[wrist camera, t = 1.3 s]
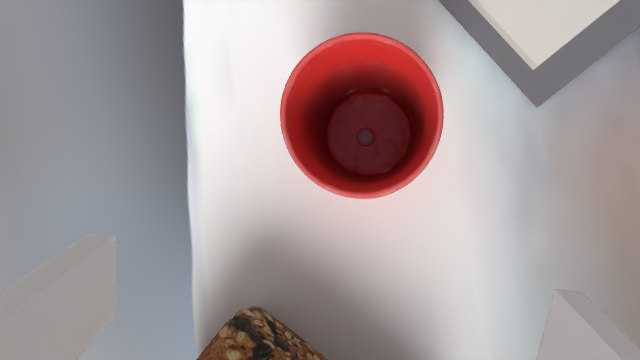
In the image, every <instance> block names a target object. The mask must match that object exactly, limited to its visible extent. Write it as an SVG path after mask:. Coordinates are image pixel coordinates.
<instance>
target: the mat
mask: <svg viewBox="0 0 640 360" xmlns="http://www.w3.org/2000/svg"><path fill="white" fill-rule="evenodd" d="M439 1H440V2H441V3H442V4H443V5H444V6H445V7H446V8H447V9H448V11H449V12H450V13H451V14H452V15H453V16H454V17H455V18H456V19H457V20H458V22H459V23H460V24H461V25H462V26H463V27H464V28H465V29H466V30H467V31H468V32H469V34H470V35H471V36H472V37H473V38H474V39H475V40H476V41H477V42H478V43H479V45H480V46H481V47H482V48H483V49H484V50H485V51H486V52H487V53H488V54H489V55H490V57H491V58H492V59H493V60H494V61H495V62H496V63H497V64H498V65H499V66H500V68H501V69H502V70H503V71H504V72H505V73H506V74H507V75H508V76H509V77H510V78H511V80H512V81H513V82H514V83H515V84H516V85H517V86H518V87H519V88H520V89H521V91H522V92H523V93H524V94H525V95H526V96H527V97H528V98H529V99H530V100H531V101H532V103H533V104H534V105H535V106H536V107H538V106H540V105H541V104H542V103H544V102H545V101H546V100H547V99H549V98H550V97H551V96H552V95H554V94H555V93H556V92H557V91H559V90H560V89H561V88H562V87H564V86H565V85H566V84H567V83H569V82H570V81H571V80H573V79H574V78H575V77H576V76H578V75H579V74H580V73H581V72H583V71H584V70H585V69H586V68H588V67H589V66H590V65H591V64H593V63H594V62H595V61H596V60H598V59H599V58H600V57H601V56H603V55H604V54H605V53H606V52H608V51H609V50H610V49H612V48H613V47H614V46H615V45H617V44H618V43H619V42H620V41H622V40H623V39H624V38H625V37H627V36H628V35H629V34H630V33H632V32H633V31H634V30H635V29H637V28H638V27H639V26H640V0H620V1H619V2H618V3H616V4H615V5H614V6H613V7H611V8H610V9H609V10H608V11H606V12H605V13H604V14H603V15H602V16H600V17H599V18H598V19H597V20H595V21H594V22H593V23H592V24H590V25H589V26H588V27H587V28H585V29H584V30H583V31H582V32H580V33H579V34H578V35H577V36H575V37H574V38H573V39H572V40H570V41H569V42H568V43H567V44H565V45H564V46H563V47H562V48H560V49H559V50H558V51H557V52H556V53H554V54H553V55H552V56H551V57H549V58H548V59H547V60H546V61H544V62H543V63H542V64H541V65H539V66H538V67H537V68H536V69H534V70H532V69H531V68H530V66H529V65H528V64H527V63H526V62H525V61H524V60H523V59H522V58H521V57H520V56H519V55H518V54H517V52H516V51H515V50H514V49H513V48H512V47H511V46H510V45H509V44H508V43H507V42H506V41H505V39H504V38H503V37H502V36H501V35H500V34H499V33H498V32H497V31H496V30H495V29H494V28H493V27H492V25H491V24H490V23H489V22H488V21H487V20H486V19H485V18H484V17H483V16H482V15H481V14H480V12H479V11H478V10H477V9H476V8H475V7H474V6H473V5H472V4H471V3H470V2H469V1H468V0H439Z"/></svg>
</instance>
